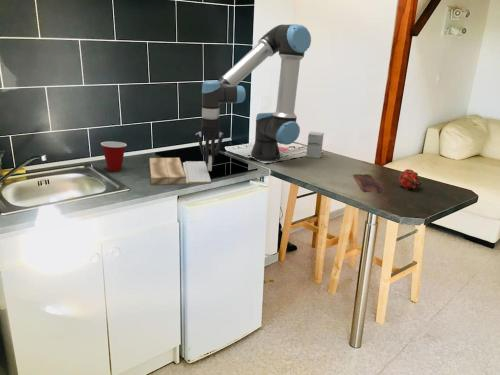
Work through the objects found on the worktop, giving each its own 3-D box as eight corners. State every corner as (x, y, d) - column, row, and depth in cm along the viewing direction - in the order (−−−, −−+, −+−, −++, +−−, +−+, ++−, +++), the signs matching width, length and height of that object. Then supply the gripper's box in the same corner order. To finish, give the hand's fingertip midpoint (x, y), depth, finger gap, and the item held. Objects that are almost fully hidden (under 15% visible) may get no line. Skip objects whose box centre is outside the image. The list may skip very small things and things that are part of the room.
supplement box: (305, 157, 226) (308, 133, 222) (307, 154, 233) (310, 131, 229) (319, 158, 225) (322, 135, 220) (321, 155, 231) (323, 132, 227)
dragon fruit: (404, 186, 192) (412, 199, 181) (390, 175, 190) (398, 187, 179) (418, 173, 189) (427, 185, 178) (405, 161, 186) (413, 173, 176)
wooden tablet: (351, 171, 201) (373, 170, 200) (351, 176, 201) (372, 175, 201) (362, 190, 176) (387, 189, 175) (362, 195, 176) (387, 194, 176)
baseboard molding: (181, 185, 176) (211, 185, 178) (181, 178, 175) (211, 178, 177) (179, 164, 204) (204, 164, 207) (179, 158, 203) (205, 158, 206)
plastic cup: (131, 170, 189) (130, 144, 185) (108, 174, 183) (106, 147, 179) (122, 164, 197) (120, 139, 193) (98, 168, 191) (96, 141, 187)
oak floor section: (179, 163, 203) (179, 157, 202) (186, 183, 176) (186, 176, 175) (149, 164, 200) (149, 158, 199) (151, 184, 172) (151, 177, 171)
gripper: (223, 116, 189) (222, 167, 197) (194, 116, 186) (194, 167, 194) (227, 119, 183) (225, 172, 190) (196, 119, 179) (196, 172, 187)
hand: (209, 169), depth 192 cm, fingers closed
